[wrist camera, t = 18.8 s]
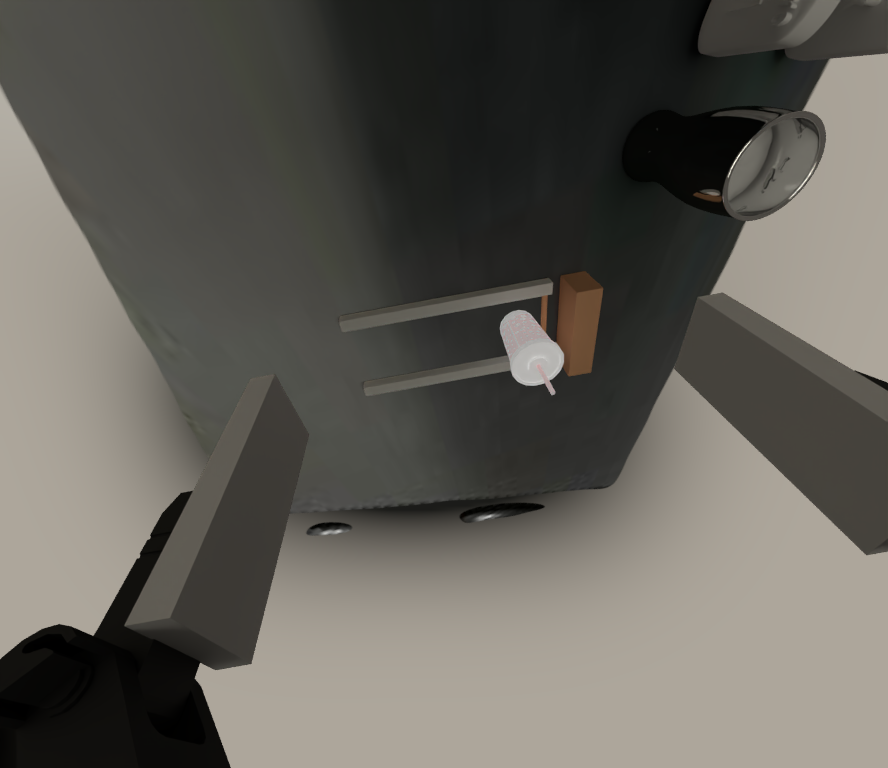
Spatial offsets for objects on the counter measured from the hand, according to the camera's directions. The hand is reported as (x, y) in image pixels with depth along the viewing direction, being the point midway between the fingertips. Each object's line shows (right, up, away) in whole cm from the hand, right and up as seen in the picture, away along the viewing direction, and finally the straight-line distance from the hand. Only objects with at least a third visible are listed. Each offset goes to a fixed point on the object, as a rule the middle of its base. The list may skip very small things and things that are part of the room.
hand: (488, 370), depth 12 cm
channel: (+2, +6, +36) cm, 37 cm away
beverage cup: (+8, +7, +36) cm, 38 cm away
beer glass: (+20, +24, +25) cm, 40 cm away
